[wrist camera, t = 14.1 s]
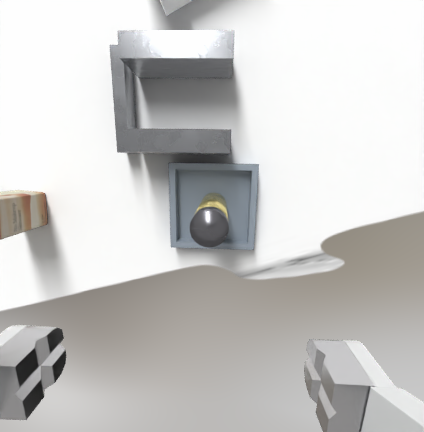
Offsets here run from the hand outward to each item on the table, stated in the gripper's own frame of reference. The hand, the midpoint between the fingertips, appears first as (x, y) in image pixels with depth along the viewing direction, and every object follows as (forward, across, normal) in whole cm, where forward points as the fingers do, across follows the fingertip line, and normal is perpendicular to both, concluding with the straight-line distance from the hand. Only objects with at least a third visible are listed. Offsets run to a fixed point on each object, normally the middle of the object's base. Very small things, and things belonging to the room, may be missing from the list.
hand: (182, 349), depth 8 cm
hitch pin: (+26, 0, 0) cm, 26 cm away
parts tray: (+27, 0, 0) cm, 27 cm away
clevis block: (+27, +5, -13) cm, 30 cm away
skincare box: (+27, +27, +1) cm, 38 cm away
